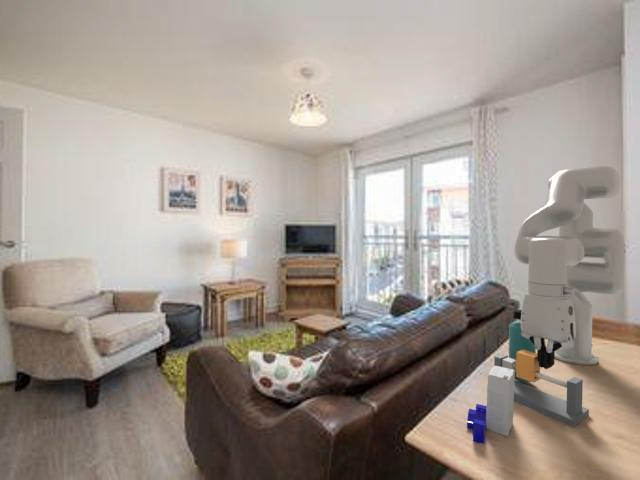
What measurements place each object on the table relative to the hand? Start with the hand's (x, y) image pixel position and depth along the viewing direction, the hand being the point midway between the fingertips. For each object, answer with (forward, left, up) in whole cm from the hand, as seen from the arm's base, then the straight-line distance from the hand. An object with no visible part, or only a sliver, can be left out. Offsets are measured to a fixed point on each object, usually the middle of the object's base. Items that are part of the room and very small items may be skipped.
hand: (545, 366), depth 77 cm
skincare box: (+17, -1, -10) cm, 20 cm away
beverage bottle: (-8, -9, -10) cm, 16 cm away
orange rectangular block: (0, -4, -4) cm, 6 cm away
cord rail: (0, -2, -10) cm, 10 cm away
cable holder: (+22, -3, -10) cm, 25 cm away
